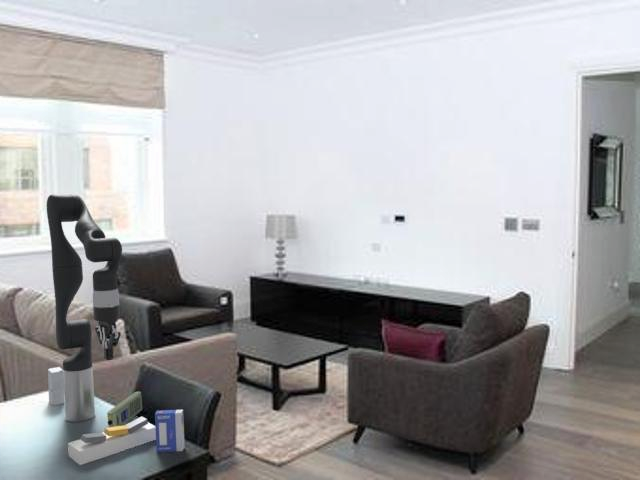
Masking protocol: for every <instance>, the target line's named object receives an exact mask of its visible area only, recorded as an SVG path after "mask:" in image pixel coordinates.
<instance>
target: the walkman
mask: <svg viewBox="0 0 640 480" xmlns="http://www.w3.org/2000/svg"><path fill="white" fill-rule="evenodd" d="M184 420H185V418H184V409H166V410H165V409H164V410H162V409H161V410H156V411H155V413H154V422H155V425H154V426H155V428H156V440H155V447H156V448H155V450H156V453H167V452H169V453H170V452H172V453H173V452H184V449H185V424H184V423H185V422H184Z"/></svg>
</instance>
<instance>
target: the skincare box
mask: <svg viewBox="0 0 640 480" xmlns="http://www.w3.org/2000/svg"><path fill="white" fill-rule="evenodd" d="M47 373H48V374H47V377H48V378H47V380H48V402H49V403H50V405H51V406H58V405H63V404H65V395H64V378H63V368H61V367H60V366H57V367H51V368H48V369H47Z"/></svg>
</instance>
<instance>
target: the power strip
mask: <svg viewBox="0 0 640 480" xmlns="http://www.w3.org/2000/svg"><path fill="white" fill-rule="evenodd" d="M101 433H103V434H104V431H102V432H101ZM105 435H106V434H105ZM153 440H154V441H156V428H155V425H154V424H152V423H150V422H148V424H147V425H145V426H143V427H141V428H139V429H138V430H136V431H134V432H132V433H129V432H128V434H123V435H116V436H108V435H106V441H103V442H94V443H84V442H83V441H82V440H81V438H80V439H76V440H73V441H70V442H67V448H68V449H67V450H68V457H69V458H70V459H72V460H73V461H74V462H75V463H77V465H80V466H82V465H84V464H85V465H86V464H88V463H91V462H94V461H97V460H100V459H103V458H106V457H109V456H113V455H116V454H118V453H120V451H121V452H123V451H126V449H127V450H129V448H130V449H133V448H135V446H136V447H139V446H141V444H142V445H144V443H145V444H148V443H151V442H153ZM150 441H151V442H150ZM147 442H148V443H147ZM138 445H139V446H138ZM132 447H133V448H132Z"/></svg>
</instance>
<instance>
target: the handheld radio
mask: <svg viewBox="0 0 640 480" xmlns="http://www.w3.org/2000/svg"><path fill="white" fill-rule="evenodd" d="M142 398H143V397H142V392H141V391H135V392H133V393H132V394H130V395H129V396H128V397H127V398H125V399H123V400H122V401H121V402H119V403H118V404H116V405H115V406H114V407H112V408H111V409H110V410H109V411H107V413H106V415H107V425H108V427H115V426H123V425H124V426H125V425H126V423H128V422H129V421H130V420H131V419H133V418H134V417H135V416H136V415H137V414H139V413H140V412H141V411H143V402H142V401H143V400H142ZM108 427H107V428H108Z"/></svg>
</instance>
